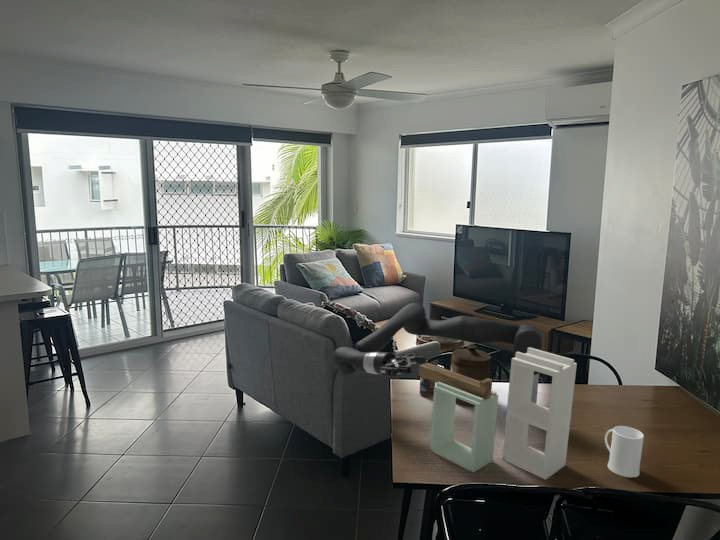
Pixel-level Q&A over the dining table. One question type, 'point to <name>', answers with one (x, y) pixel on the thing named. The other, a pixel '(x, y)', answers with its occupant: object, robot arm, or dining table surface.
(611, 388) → the dining table surface
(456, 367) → the wooden container
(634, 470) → the mug
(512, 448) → the shelf stand
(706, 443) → the dining table surface
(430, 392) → the supplement bottle
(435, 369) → the hook bar
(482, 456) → the rest stand
